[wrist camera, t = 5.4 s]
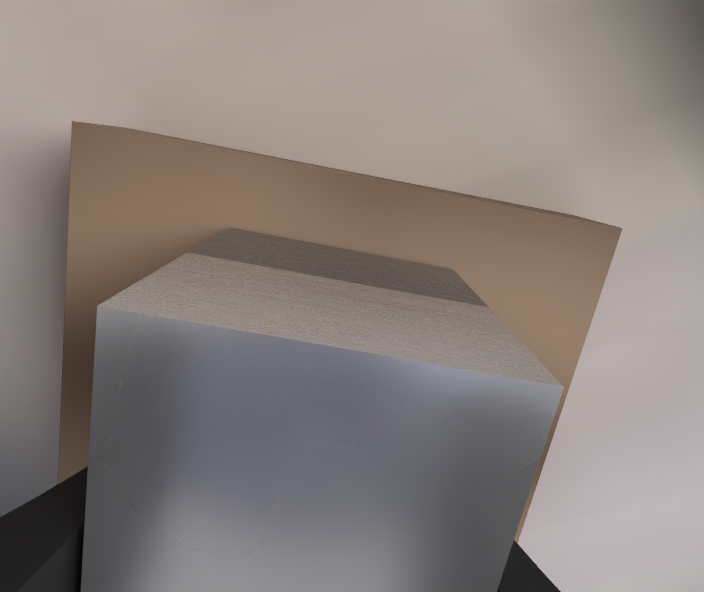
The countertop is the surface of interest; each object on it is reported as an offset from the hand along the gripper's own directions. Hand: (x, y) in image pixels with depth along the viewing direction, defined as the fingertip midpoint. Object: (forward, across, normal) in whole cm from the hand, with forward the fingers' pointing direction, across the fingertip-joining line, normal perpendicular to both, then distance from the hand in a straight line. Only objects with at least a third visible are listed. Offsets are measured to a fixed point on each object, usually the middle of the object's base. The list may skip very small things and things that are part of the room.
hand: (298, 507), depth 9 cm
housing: (+3, 0, 0) cm, 3 cm away
